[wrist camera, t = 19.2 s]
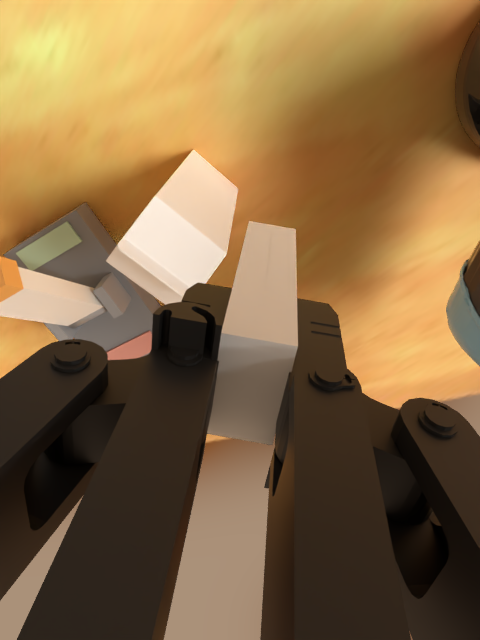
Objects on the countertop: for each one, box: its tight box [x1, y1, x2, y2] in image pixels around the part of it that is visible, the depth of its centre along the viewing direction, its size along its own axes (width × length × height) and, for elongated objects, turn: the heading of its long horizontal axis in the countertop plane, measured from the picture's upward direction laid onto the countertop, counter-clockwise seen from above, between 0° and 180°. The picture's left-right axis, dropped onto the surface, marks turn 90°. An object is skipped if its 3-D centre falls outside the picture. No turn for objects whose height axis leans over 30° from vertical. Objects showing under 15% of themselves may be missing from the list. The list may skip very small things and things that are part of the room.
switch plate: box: [4, 202, 161, 360], centre depth 50 cm, size 18×10×7 cm, turn 29°
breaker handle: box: [0, 256, 108, 328], centre depth 43 cm, size 3×6×15 cm
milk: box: [106, 150, 238, 305], centre depth 37 cm, size 6×6×22 cm
